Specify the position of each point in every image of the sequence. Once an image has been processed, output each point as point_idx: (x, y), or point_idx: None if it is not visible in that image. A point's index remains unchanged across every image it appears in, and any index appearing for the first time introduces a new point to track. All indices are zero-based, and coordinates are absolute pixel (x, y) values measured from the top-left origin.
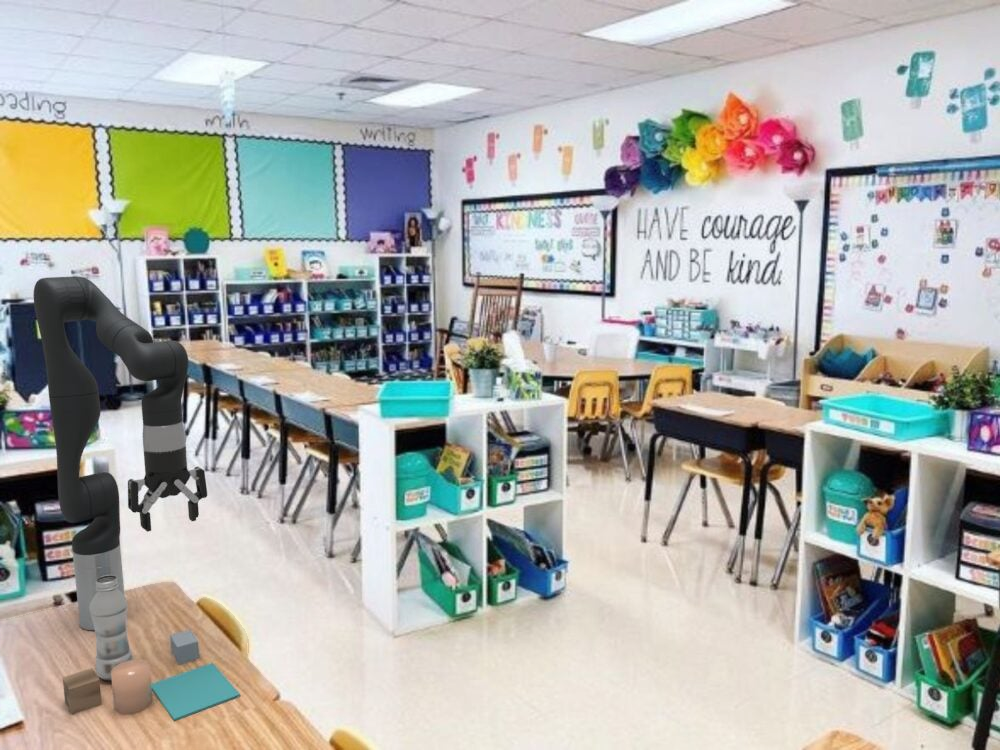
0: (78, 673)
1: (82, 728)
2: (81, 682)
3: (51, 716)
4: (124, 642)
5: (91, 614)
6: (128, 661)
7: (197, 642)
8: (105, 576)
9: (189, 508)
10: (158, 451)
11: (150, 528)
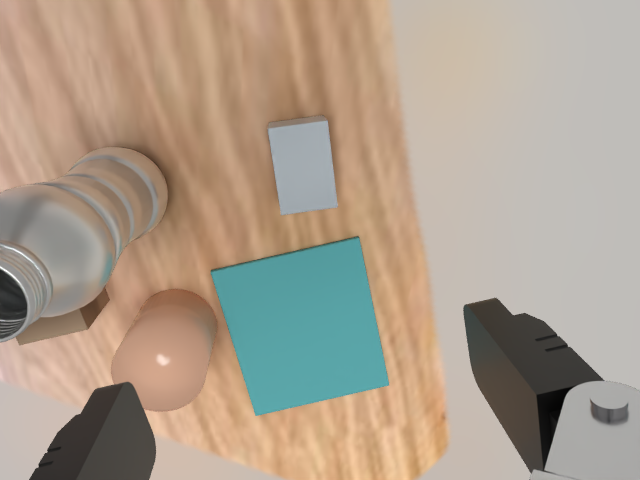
0: None
1: (80, 370)
2: (44, 324)
3: None
4: (133, 238)
5: None
6: (151, 336)
7: (335, 207)
8: None
9: (507, 385)
10: None
11: (147, 468)
